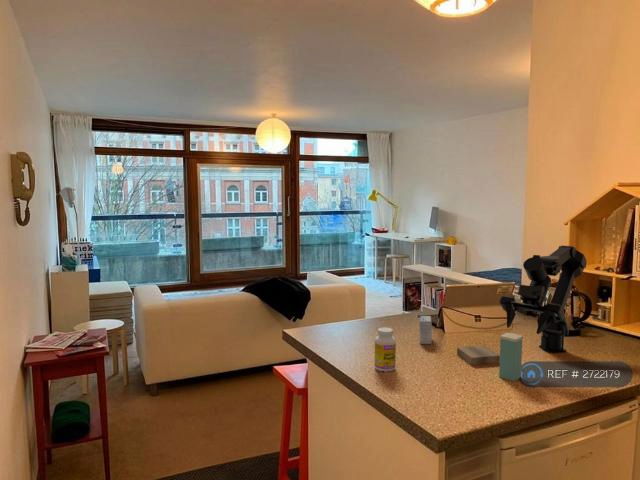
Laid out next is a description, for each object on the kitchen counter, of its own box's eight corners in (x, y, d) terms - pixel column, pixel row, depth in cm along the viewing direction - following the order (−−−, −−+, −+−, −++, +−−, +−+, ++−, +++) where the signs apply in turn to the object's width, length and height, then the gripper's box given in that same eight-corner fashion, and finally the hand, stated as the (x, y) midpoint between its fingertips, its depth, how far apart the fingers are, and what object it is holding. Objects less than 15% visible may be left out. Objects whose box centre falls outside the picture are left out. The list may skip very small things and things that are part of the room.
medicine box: (431, 344, 172) (432, 321, 171) (419, 344, 173) (419, 321, 172) (431, 337, 180) (431, 315, 179) (419, 337, 181) (419, 315, 180)
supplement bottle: (382, 374, 146) (382, 334, 144) (370, 367, 152) (370, 328, 150) (399, 370, 149) (400, 330, 147) (387, 363, 155) (387, 325, 153)
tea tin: (505, 372, 146) (507, 332, 144) (521, 377, 142) (522, 335, 141) (498, 377, 142) (500, 335, 141) (514, 381, 139) (515, 339, 137)
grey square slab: (483, 353, 163) (484, 345, 163) (499, 364, 153) (499, 355, 153) (457, 355, 162) (457, 347, 161) (470, 366, 152) (471, 357, 152)
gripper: (502, 271, 154) (485, 310, 148) (562, 278, 141) (547, 322, 135) (512, 291, 161) (496, 329, 154) (570, 300, 147) (556, 342, 141)
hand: (522, 330), depth 146 cm, fingers open, 9 cm apart
